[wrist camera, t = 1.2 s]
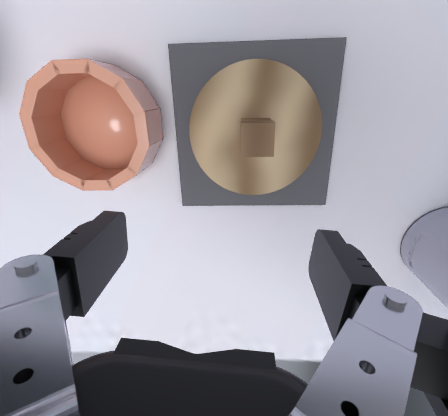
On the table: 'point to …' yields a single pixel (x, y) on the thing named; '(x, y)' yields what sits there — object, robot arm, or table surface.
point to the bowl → (90, 123)
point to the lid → (255, 126)
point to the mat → (243, 50)
